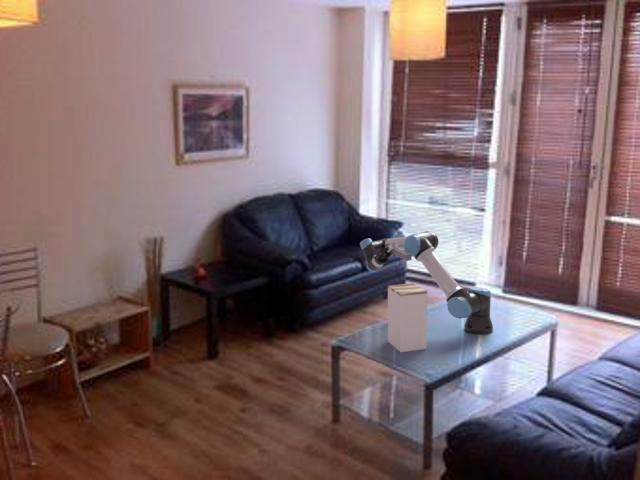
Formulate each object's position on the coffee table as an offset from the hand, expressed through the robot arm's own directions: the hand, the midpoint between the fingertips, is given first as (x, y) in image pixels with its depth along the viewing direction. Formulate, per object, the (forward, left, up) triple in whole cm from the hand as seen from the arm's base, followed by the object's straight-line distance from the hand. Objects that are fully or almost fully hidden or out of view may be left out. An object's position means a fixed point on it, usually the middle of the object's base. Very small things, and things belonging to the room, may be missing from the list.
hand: (394, 246), depth 349 cm
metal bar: (-3, +5, -4) cm, 7 cm away
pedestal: (-10, +32, -45) cm, 56 cm away
